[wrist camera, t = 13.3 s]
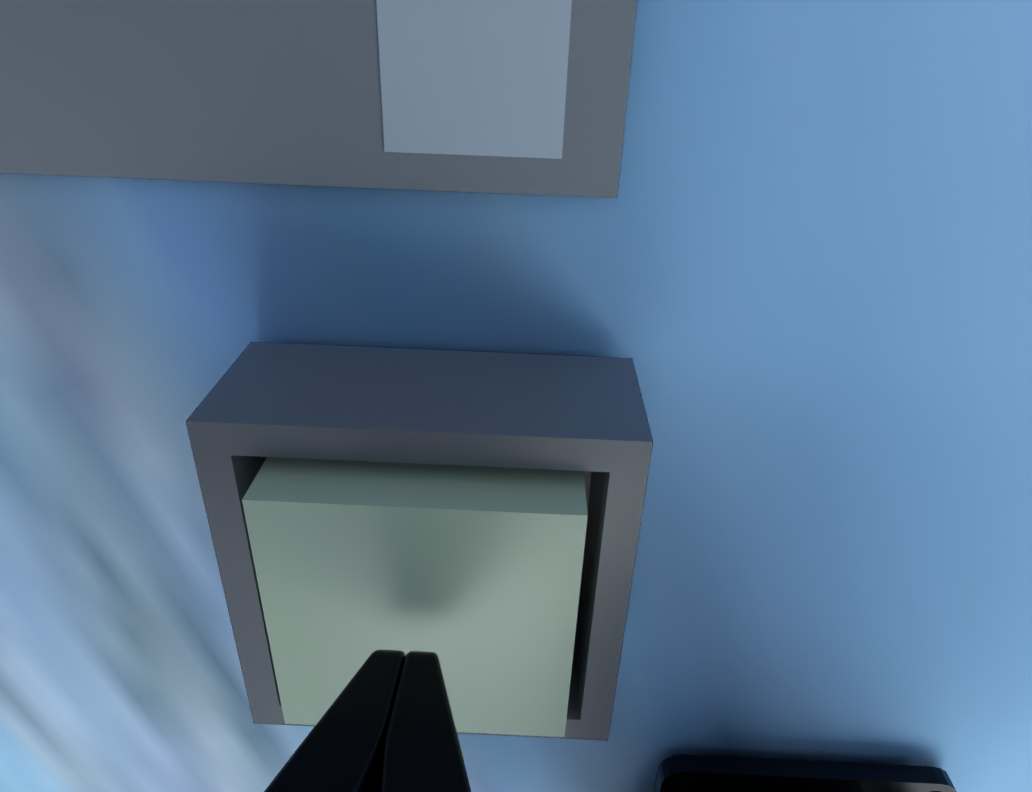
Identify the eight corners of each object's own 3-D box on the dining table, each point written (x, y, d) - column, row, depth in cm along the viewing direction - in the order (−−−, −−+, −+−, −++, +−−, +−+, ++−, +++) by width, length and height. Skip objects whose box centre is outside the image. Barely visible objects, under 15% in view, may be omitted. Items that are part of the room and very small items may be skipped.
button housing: (632, 358, 11) (653, 441, 9) (597, 630, 14) (608, 740, 12) (251, 341, 11) (186, 421, 9) (295, 616, 14) (253, 723, 12)
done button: (580, 431, 11) (587, 515, 9) (561, 637, 13) (564, 737, 11) (289, 418, 11) (241, 499, 9) (319, 625, 13) (285, 723, 11)
